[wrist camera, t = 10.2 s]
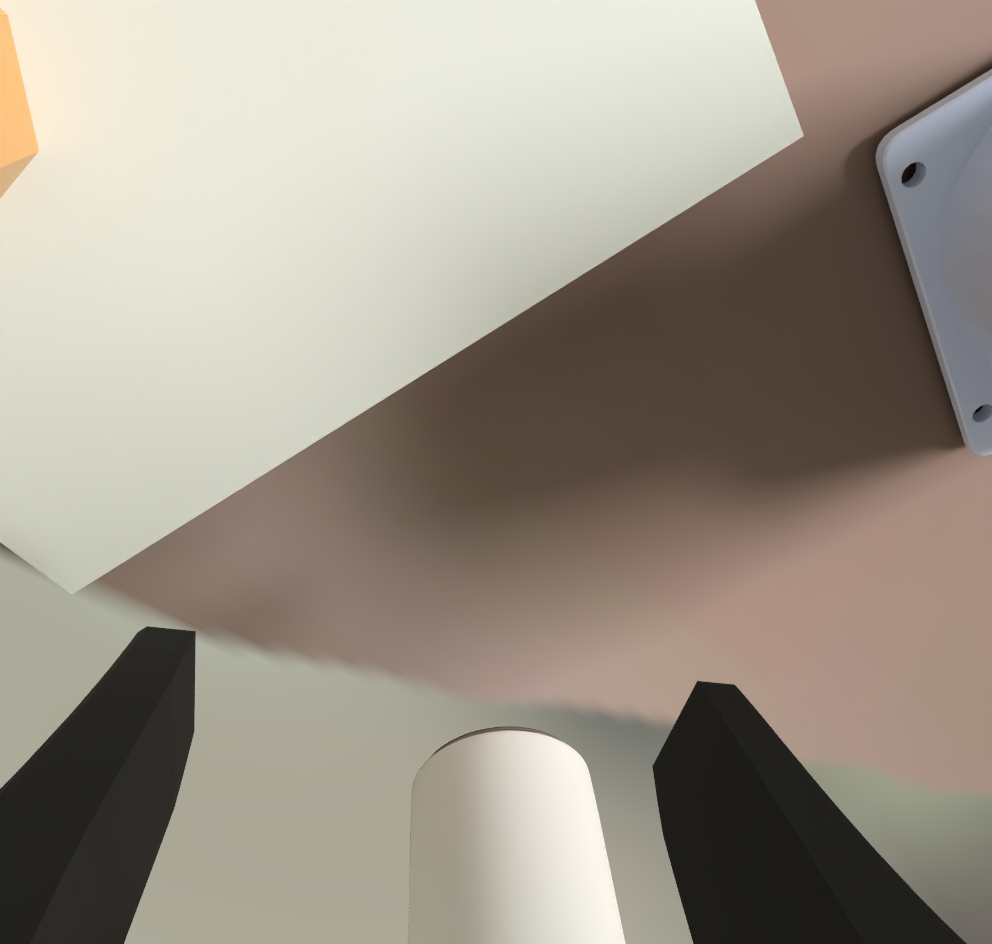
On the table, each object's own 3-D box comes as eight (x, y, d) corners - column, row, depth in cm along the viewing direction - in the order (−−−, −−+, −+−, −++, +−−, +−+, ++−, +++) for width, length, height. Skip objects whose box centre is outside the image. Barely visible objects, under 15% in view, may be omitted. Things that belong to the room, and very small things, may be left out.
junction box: (743, 110, 16) (893, 172, 11) (116, 517, 20) (11, 698, 15) (290, -1023, 9) (97, -2437, 4) (-525, -16, 13) (-1131, -15, 8)
